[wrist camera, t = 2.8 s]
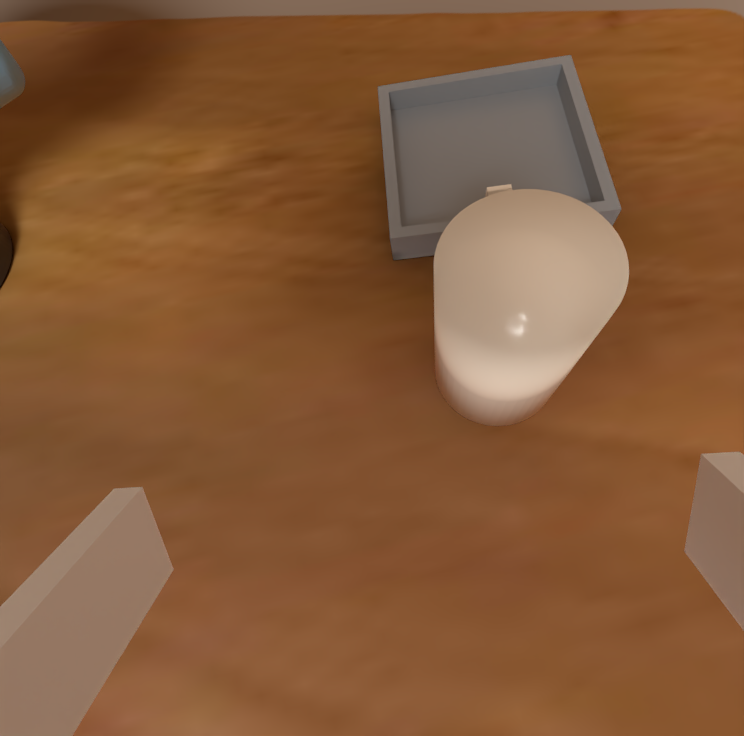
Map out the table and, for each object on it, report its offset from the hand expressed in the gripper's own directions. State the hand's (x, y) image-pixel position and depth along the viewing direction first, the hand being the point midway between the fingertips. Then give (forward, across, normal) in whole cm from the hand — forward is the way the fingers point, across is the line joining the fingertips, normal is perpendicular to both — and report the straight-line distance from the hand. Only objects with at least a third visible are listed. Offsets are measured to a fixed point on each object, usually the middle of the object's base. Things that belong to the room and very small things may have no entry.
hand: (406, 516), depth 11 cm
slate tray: (+38, +8, +8) cm, 39 cm away
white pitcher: (+25, +6, -6) cm, 26 cm away
